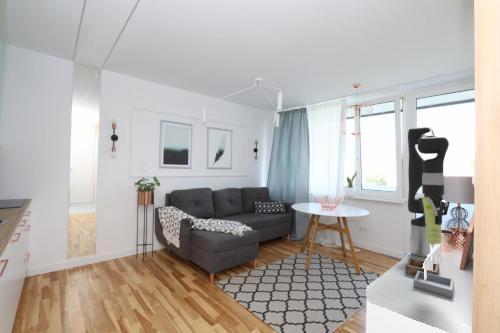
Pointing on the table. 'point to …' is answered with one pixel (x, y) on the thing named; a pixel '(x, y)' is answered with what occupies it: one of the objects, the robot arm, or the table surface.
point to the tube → (431, 222)
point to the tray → (434, 284)
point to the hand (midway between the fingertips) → (433, 222)
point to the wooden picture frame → (419, 267)
